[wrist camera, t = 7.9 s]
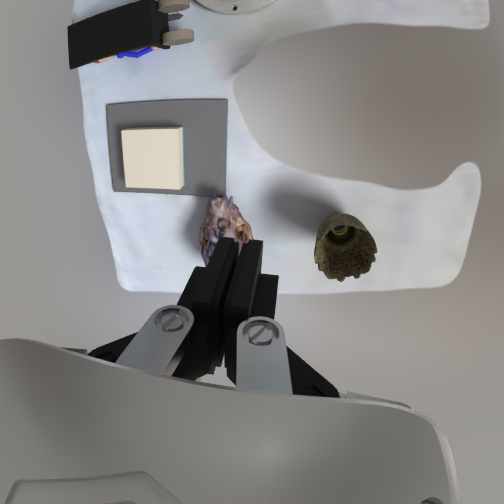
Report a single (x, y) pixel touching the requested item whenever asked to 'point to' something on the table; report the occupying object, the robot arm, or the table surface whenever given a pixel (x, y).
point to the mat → (194, 138)
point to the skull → (223, 225)
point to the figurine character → (126, 32)
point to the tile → (153, 157)
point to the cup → (344, 248)
